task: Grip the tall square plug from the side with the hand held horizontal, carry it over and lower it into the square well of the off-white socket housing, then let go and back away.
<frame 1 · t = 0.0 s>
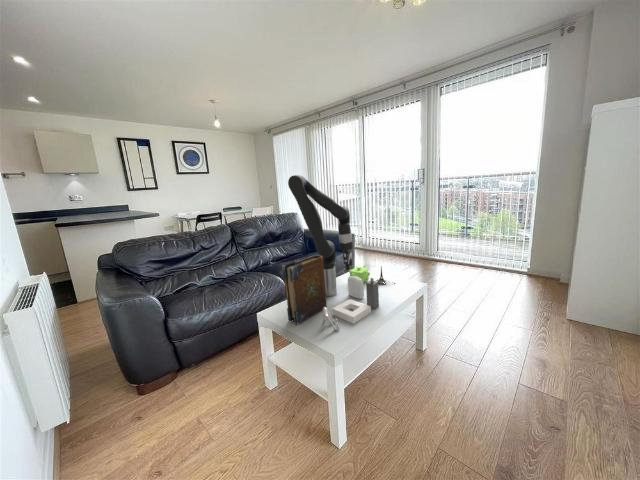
hand: (349, 267, 152), 17 cm above the table, tool pointing down, fingers open, 8 cm apart
portable electronic device stand: (330, 327, 122), on the table
plug: (372, 306, 138), on the table
eiffel tower figurine: (382, 284, 169), on the table
teapot: (359, 282, 174), on the table
decorative book: (309, 314, 136), on the table
socket: (351, 313, 133), on the table
photo printer: (356, 296, 153), on the table
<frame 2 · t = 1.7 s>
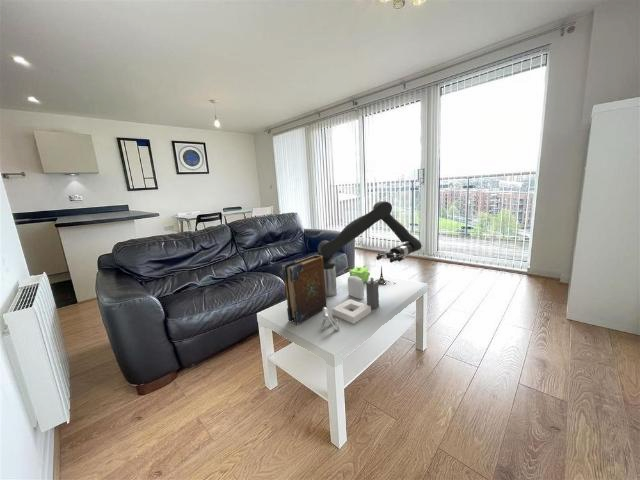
hand: (383, 259, 141), 24 cm above the table, tool horizontal, fingers open, 8 cm apart
nothing on the table moved.
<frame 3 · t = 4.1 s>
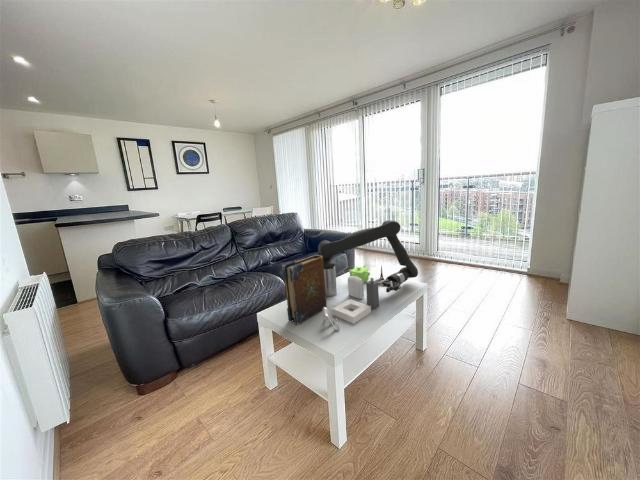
hand: (380, 288, 142), 8 cm above the table, tool horizontal, fingers open, 8 cm apart
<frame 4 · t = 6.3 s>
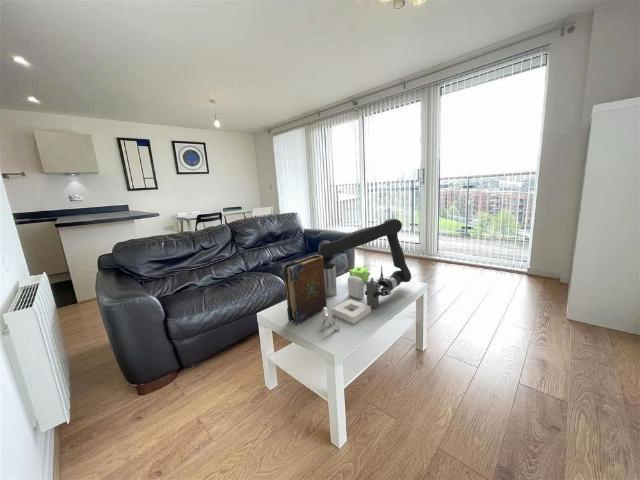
hand: (369, 294, 135), 8 cm above the table, tool horizontal, fingers closed on plug, 4 cm apart
plug: (373, 306, 138), on the table, touching gripper
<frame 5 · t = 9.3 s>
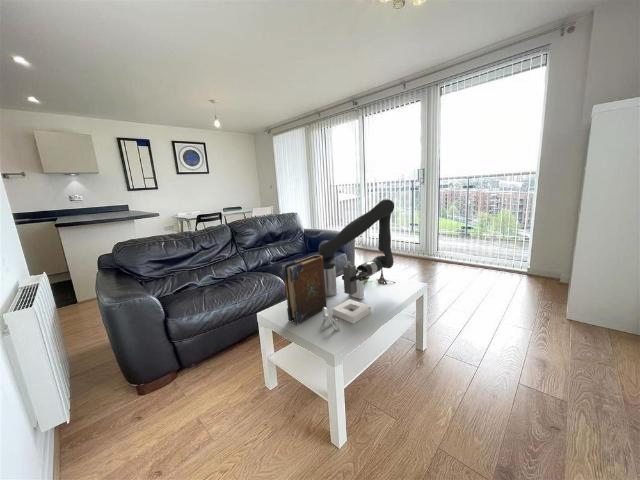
hand: (346, 279, 127), 20 cm above the table, tool horizontal, fingers closed on plug, 4 cm apart
plug: (350, 292, 131), point 12 cm above the table, touching gripper
when the fingers open (9 cm above the table, at t = 12.4 s): plug drops 1 cm, resting on socket.
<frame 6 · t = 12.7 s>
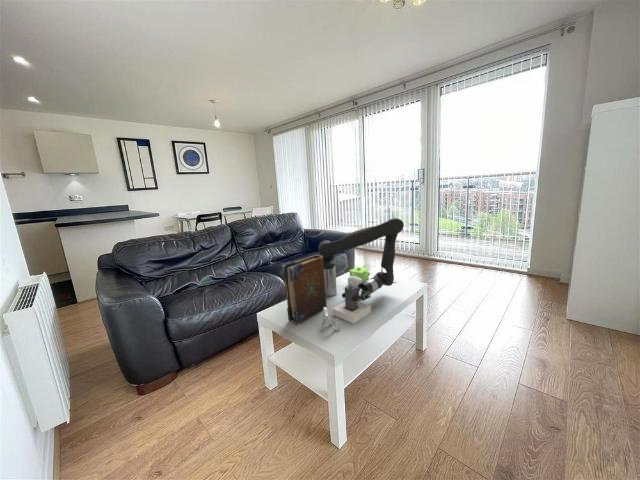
hand: (347, 298, 129), 10 cm above the table, tool horizontal, fingers open, 6 cm apart
plug: (351, 312, 133), resting on socket
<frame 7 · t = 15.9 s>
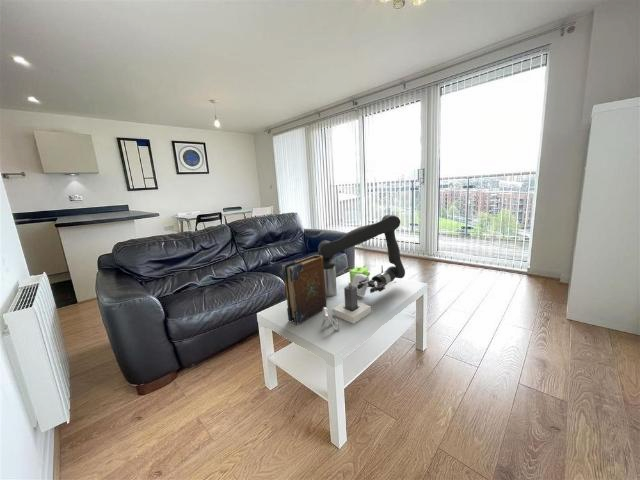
hand: (364, 289, 138), 10 cm above the table, tool horizontal, fingers open, 8 cm apart
photo printer: (356, 294, 153), point 1 cm above the table
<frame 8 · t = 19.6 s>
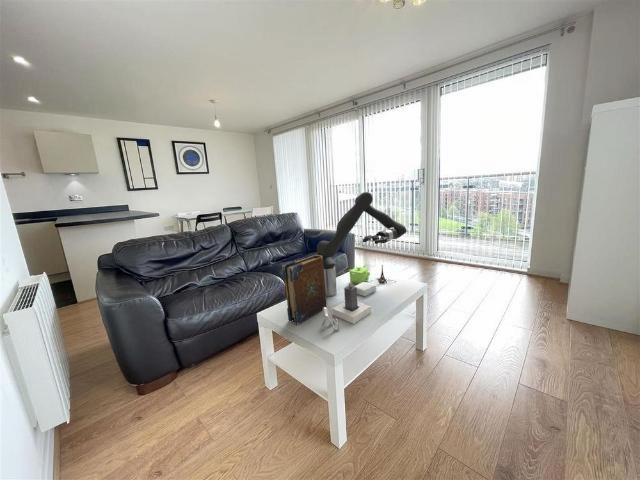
hand: (369, 241, 150), 32 cm above the table, tool horizontal, fingers open, 8 cm apart
photo printer: (358, 291, 154), point 2 cm above the table
at the end: plug 0.0 cm off-centre on the socket, point 0.4 cm above the socket's base; plug tilted 0°; the gripper is holding nothing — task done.
